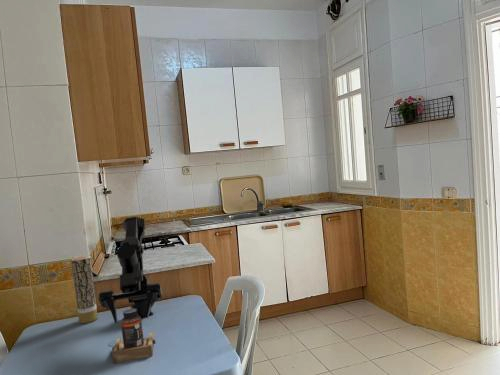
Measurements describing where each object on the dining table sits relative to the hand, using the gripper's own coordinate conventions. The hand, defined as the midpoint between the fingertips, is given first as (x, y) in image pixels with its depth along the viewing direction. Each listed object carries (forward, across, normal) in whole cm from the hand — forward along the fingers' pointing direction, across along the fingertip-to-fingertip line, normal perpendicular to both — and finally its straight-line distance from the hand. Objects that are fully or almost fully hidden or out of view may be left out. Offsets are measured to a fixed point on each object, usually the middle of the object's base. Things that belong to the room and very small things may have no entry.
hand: (131, 320), depth 115 cm
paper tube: (-19, -21, +33) cm, 43 cm away
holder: (+7, 0, +7) cm, 10 cm away
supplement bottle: (+6, 0, +6) cm, 8 cm away
